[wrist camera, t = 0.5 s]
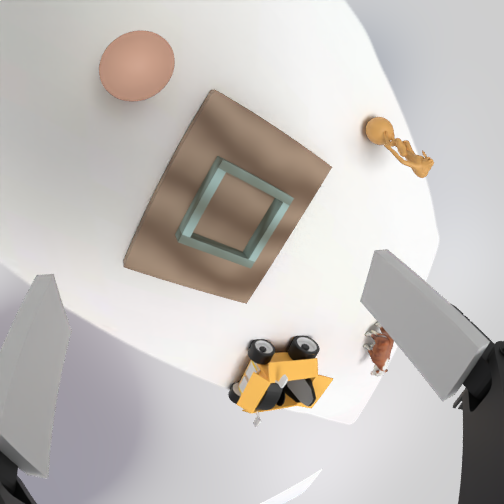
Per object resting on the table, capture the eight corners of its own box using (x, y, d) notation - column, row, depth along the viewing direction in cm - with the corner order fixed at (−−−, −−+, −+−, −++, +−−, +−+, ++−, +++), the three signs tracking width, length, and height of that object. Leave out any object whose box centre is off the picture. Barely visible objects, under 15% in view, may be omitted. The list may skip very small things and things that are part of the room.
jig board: (211, 89, 29) (220, 89, 26) (325, 164, 39) (341, 171, 36) (123, 260, 35) (124, 276, 32) (242, 297, 45) (251, 312, 42)
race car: (246, 336, 49) (274, 384, 41) (316, 334, 57) (346, 372, 48) (221, 391, 55) (241, 436, 46) (285, 385, 62) (308, 422, 54)
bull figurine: (355, 360, 69) (374, 383, 62) (367, 322, 62) (390, 346, 55) (369, 354, 70) (388, 375, 64) (381, 315, 63) (404, 338, 57)
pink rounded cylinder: (126, 46, 24) (125, 19, 14) (167, 66, 26) (188, 50, 17) (101, 89, 25) (85, 84, 15) (142, 107, 28) (150, 113, 18)
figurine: (391, 120, 40) (455, 139, 30) (384, 157, 42) (445, 184, 33) (350, 109, 36) (419, 125, 27) (343, 151, 39) (408, 178, 30)
